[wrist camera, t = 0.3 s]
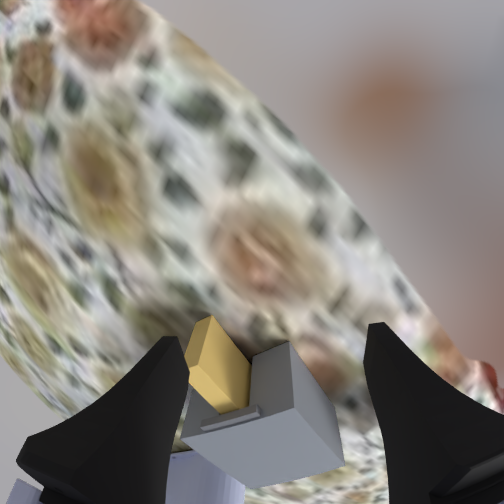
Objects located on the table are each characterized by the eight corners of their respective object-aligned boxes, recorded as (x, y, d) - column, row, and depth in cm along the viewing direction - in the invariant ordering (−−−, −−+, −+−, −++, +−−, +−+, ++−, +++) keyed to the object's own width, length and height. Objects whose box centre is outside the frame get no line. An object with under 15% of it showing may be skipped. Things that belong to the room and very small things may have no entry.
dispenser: (253, 434, 28) (250, 488, 22) (191, 373, 25) (174, 434, 19) (334, 408, 26) (345, 465, 20) (285, 335, 23) (290, 402, 17)
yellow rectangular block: (261, 400, 25) (259, 449, 20) (195, 322, 23) (178, 371, 17) (276, 395, 25) (277, 444, 20) (212, 314, 22) (197, 364, 17)
